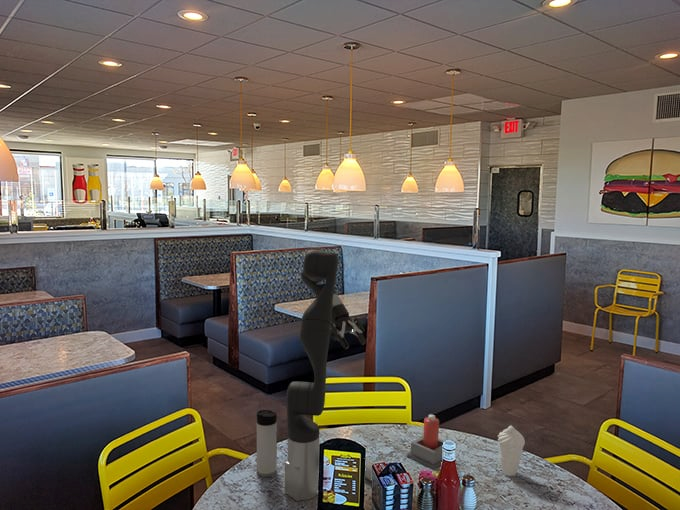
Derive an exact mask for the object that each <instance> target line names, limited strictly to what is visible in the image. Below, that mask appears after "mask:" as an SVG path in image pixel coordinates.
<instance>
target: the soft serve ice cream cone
mask: <svg viewBox="0 0 680 510" xmlns="http://www.w3.org/2000/svg"><path fill="white" fill-rule="evenodd" d="M497 438H498V439H497V441H498V448H499V454H498V455H499V456H498V457H499V458H500V466H501V472H502V474H503V475H505V476H508V477H515V476H516V475H517V473H518V469H519V466H520V462H521V461H522V453H523V452H522V451H523V449H524V447H525V443H526V441H525V440H526V439H525V437H524V436H523V435H522V434H521V433H520V432H519V431H518V430H517V429H516V428H515V427H514V426H513V425H509V426H508V427H507V428H505V429H503V430H502V431H500V432H499V434H498V435H497Z"/></svg>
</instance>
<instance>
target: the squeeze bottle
mask: <svg viewBox="0 0 680 510" xmlns="http://www.w3.org/2000/svg"><path fill="white" fill-rule="evenodd" d="M439 429H440V419H439V418H437V417H436V415H434V414H428V416H427V417H424V419H423V434H422V435H423V436H422V437H423V446H425V447H427V448H429V449H431V450H434V449H436V448H438V439H439V432H440V430H439Z"/></svg>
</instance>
